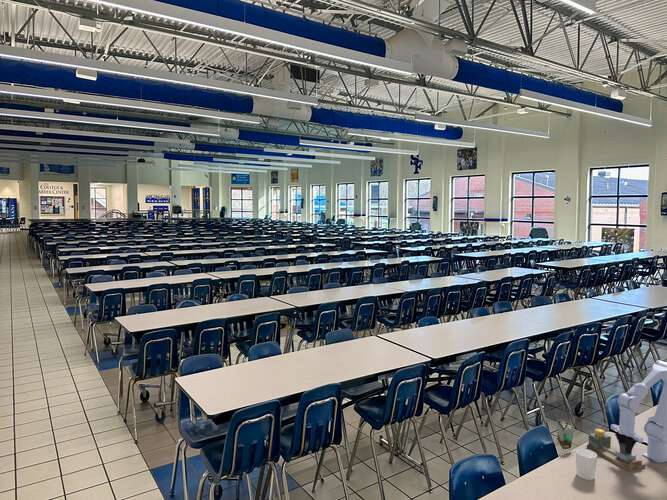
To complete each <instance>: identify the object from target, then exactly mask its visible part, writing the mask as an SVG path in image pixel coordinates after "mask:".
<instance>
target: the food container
mask: <svg viewBox="0 0 667 500" xmlns="http://www.w3.org/2000/svg"><path fill="white" fill-rule="evenodd" d="M556 421H557V433H556V434H557V443H558V444H559V445H560V447H561V449H562V450H568V449H572V443H573V435H574V433H575V432H576V429H575V427H574V425H573V424H572V423H571V422H570V421H567V420H563V419H557V420H556Z"/></svg>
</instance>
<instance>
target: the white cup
mask: <svg viewBox="0 0 667 500" xmlns="http://www.w3.org/2000/svg"><path fill="white" fill-rule="evenodd" d="M597 459H598V454H597V453H595V452H593V451H592V450H590V449H588V448H577V449H576V450H575V464H576V468H575V469H576V475H577V476H578V477H579V478H580V479H582V480H587V481H592V480H594V479H595V478H596V477H595V476H596V471H597V464H598V463H597V462H598V461H597Z"/></svg>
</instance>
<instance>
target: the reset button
mask: <svg viewBox="0 0 667 500" xmlns="http://www.w3.org/2000/svg"><path fill="white" fill-rule="evenodd" d="M594 433H597V436H598V437H603V434H606V431H605V430H604V429H601V428H595V430H594Z"/></svg>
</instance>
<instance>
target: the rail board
mask: <svg viewBox="0 0 667 500" xmlns="http://www.w3.org/2000/svg"><path fill="white" fill-rule="evenodd" d="M611 441H612V436H611V435H609V434H607V433H605V434H603V437H598V436H597V433H596V432H593V433H588V444H586V449H588V450H591V451H593V452H595V453H596V454H597V455H599V456H600V457H602V458H604V459H606V460H607V461H609V462H611V463H612V464H615V465H617V467H619V468H622V469H623V470H625V471H627V472H629V471H634V470H640V469H645V468H646V464H645V463H644V462H643V460H642V459H641V458H640V459H636V460H634V461H629V463H628V462H626V461H624V460H622V459H620V458H618V457H617V456H616V455H615V451H616V450H618V449H617V448H616V447H613V446H612V445H611V443H612V442H611Z"/></svg>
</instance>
